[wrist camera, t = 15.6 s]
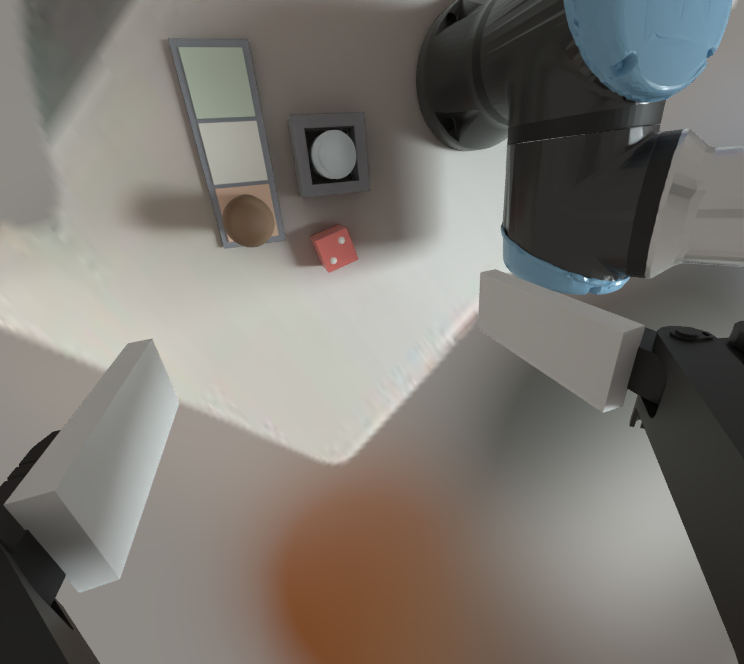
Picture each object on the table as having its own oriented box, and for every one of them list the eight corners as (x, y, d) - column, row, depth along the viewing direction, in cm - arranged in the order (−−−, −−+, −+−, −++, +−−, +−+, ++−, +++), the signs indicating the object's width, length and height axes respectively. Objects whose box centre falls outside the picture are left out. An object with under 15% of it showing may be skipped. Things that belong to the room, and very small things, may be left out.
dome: (346, 132, 38) (356, 127, 35) (350, 177, 40) (360, 176, 37) (305, 134, 37) (311, 130, 33) (312, 180, 39) (318, 180, 35)
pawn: (264, 191, 38) (271, 194, 28) (271, 231, 40) (280, 248, 30) (222, 193, 36) (214, 198, 27) (231, 235, 38) (227, 253, 29)
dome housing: (356, 116, 39) (363, 111, 36) (362, 190, 42) (370, 190, 39) (287, 119, 37) (290, 115, 34) (299, 196, 40) (303, 197, 37)
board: (247, 42, 33) (247, 38, 32) (285, 239, 41) (285, 240, 40) (169, 41, 31) (167, 37, 30) (224, 247, 40) (224, 249, 39)
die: (338, 223, 43) (347, 228, 39) (349, 253, 45) (359, 259, 41) (309, 236, 42) (315, 241, 39) (322, 265, 44) (329, 273, 41)
